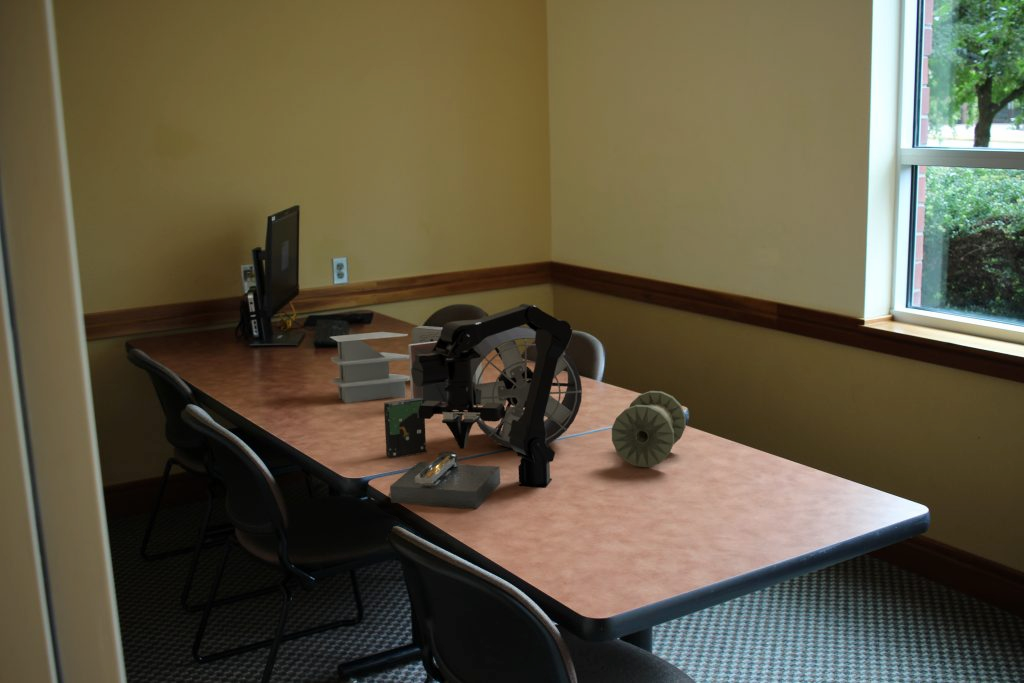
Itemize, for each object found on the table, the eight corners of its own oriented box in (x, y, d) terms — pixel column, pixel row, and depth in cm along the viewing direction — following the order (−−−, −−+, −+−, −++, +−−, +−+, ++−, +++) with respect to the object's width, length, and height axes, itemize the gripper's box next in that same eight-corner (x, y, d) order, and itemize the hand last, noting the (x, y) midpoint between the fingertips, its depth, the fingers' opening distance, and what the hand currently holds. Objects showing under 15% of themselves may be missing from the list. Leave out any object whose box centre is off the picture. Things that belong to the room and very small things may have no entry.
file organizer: (308, 402, 318) (303, 336, 314) (411, 389, 333) (408, 325, 329) (330, 420, 295) (325, 348, 291) (439, 404, 310) (436, 336, 306)
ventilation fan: (470, 456, 254) (466, 340, 249) (462, 436, 272) (458, 329, 267) (585, 447, 259) (583, 334, 253) (570, 429, 277) (567, 322, 271)
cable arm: (460, 462, 234) (459, 450, 234) (433, 487, 217) (432, 474, 217) (442, 461, 236) (442, 450, 235) (414, 486, 218) (413, 473, 218)
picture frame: (460, 407, 305) (458, 338, 301) (464, 408, 303) (461, 339, 299) (411, 415, 297) (407, 344, 294) (414, 417, 295) (411, 345, 291)
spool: (672, 468, 239) (672, 408, 236) (612, 464, 244) (611, 404, 242) (685, 449, 254) (685, 392, 252) (628, 445, 259) (627, 389, 257)
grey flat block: (500, 483, 232) (499, 465, 232) (476, 509, 215) (475, 490, 215) (420, 478, 238) (419, 460, 237) (390, 503, 221) (389, 484, 220)
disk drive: (422, 451, 259) (420, 396, 257) (427, 454, 257) (424, 398, 254) (385, 458, 254) (382, 402, 252) (389, 461, 252) (386, 404, 249)
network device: (486, 388, 329) (484, 329, 325) (471, 394, 321) (469, 333, 318) (425, 381, 342) (422, 324, 339) (409, 387, 335) (406, 328, 331)
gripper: (510, 373, 222) (513, 440, 225) (432, 370, 228) (435, 436, 230) (496, 384, 212) (499, 454, 215) (414, 381, 217) (418, 450, 220)
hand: (462, 448), depth 220 cm, fingers closed
